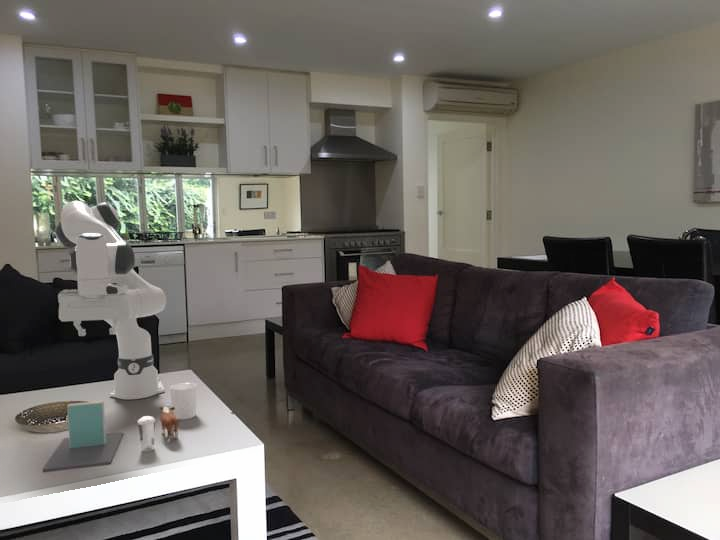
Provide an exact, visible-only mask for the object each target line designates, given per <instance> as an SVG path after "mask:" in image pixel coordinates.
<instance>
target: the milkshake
mask: <svg viewBox="0 0 720 540" xmlns="http://www.w3.org/2000/svg"><path fill="white" fill-rule="evenodd" d="M134 419H135V421H136V422H137V428H138V433H139V441H140V447H141V451H142V452H146V453H148V452H152V451H153V450H155V430H156V429H155V428H156V419H155V417H154V416H150V415H143V416H142V417H140V418H139V419H137V418H136V416H134Z"/></svg>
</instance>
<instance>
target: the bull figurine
mask: <svg viewBox="0 0 720 540" xmlns="http://www.w3.org/2000/svg"><path fill="white" fill-rule="evenodd" d="M174 409H175V408H174V407H173V406H172V405H170V404H169V403H167V404H165V405H164V406H159V410H160V411H162V412H161V415H160V419H159V420H160V422H161V430H162V431H161V435H162V436H163V435H166V431H165V430H167V441H166V443H167V444H170V443H171V435H174V439H175V440H176V439H177V440H178V439H179V436H178V435H179V431H178V428H179V426H180V425H179V424H180V423H179V421H180V420H179V419H177V418H176V417H175V415H174V412H173V411H174Z"/></svg>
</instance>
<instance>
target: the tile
mask: <svg viewBox="0 0 720 540" xmlns="http://www.w3.org/2000/svg"><path fill="white" fill-rule="evenodd" d="M67 421H68V438H69V440H70V448H78V447H87V446H96V445H105V444H106V434H107V433H106V431H107V428H106V414H105V401H104V400H98V401H97V400H96V401H87V402H86V401H85V402H74V403H72V402H71V403H68V404H67Z"/></svg>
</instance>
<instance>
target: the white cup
mask: <svg viewBox="0 0 720 540" xmlns="http://www.w3.org/2000/svg"><path fill="white" fill-rule="evenodd" d="M170 392H171V393H170V395H171V402H172V403H171V406H172V407H174V408H175V409H174V410H173V414H174V415H175V417H176V418H177V419H178V421H180V420H182V421H183V420H190V419H192V418H195V417H196V414H197V384H196V383H194V382H181V383H180V382H179V383H175V384H173V385H171V386H170Z"/></svg>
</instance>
